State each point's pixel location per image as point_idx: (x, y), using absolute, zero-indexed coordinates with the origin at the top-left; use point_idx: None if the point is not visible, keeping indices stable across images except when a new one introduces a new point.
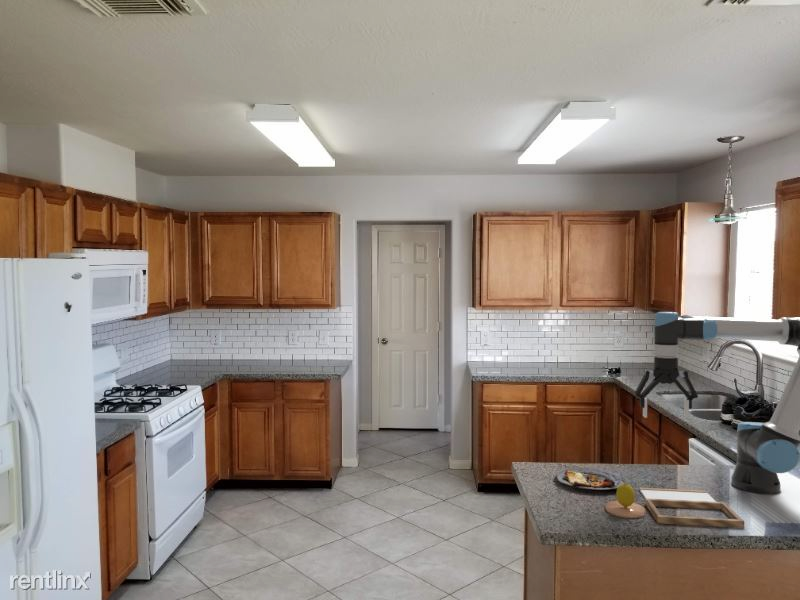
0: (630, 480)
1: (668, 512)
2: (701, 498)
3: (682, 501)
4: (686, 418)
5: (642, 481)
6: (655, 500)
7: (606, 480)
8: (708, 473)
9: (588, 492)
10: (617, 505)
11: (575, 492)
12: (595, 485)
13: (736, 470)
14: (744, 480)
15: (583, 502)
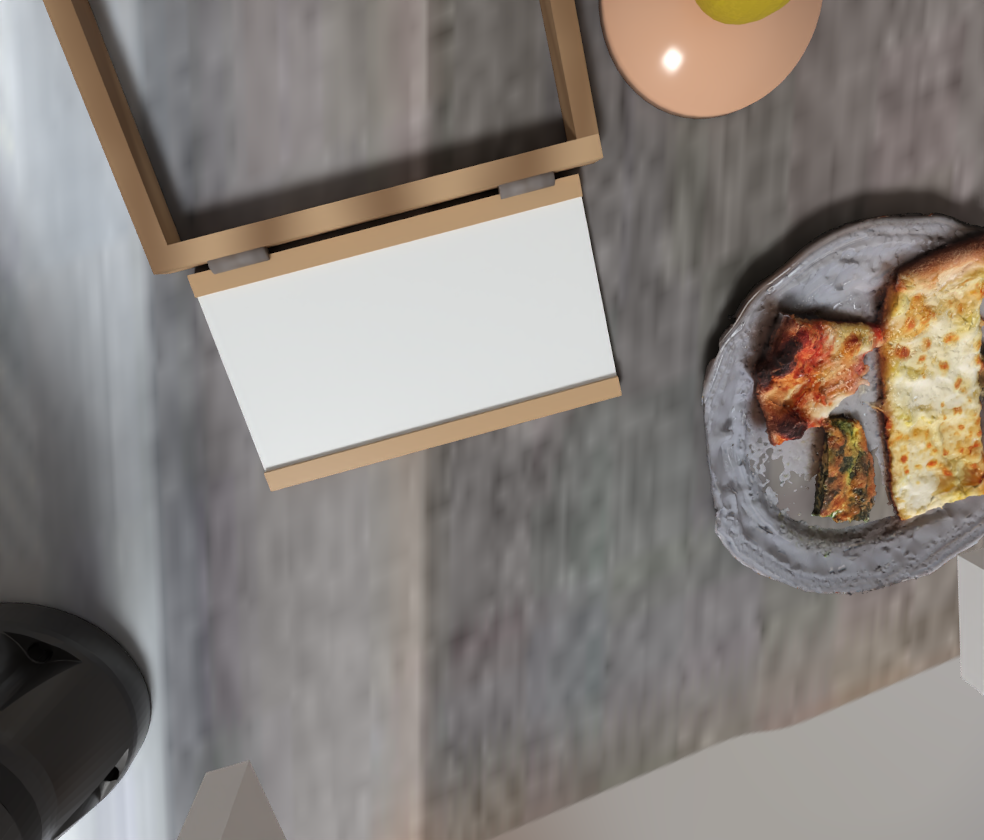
0: (655, 535)
1: (471, 70)
2: (292, 359)
3: (393, 187)
4: (247, 769)
5: (595, 544)
6: (546, 147)
7: (795, 417)
8: None
9: None
10: None
11: (950, 215)
12: (852, 330)
13: (75, 740)
14: (49, 667)
15: (923, 55)
